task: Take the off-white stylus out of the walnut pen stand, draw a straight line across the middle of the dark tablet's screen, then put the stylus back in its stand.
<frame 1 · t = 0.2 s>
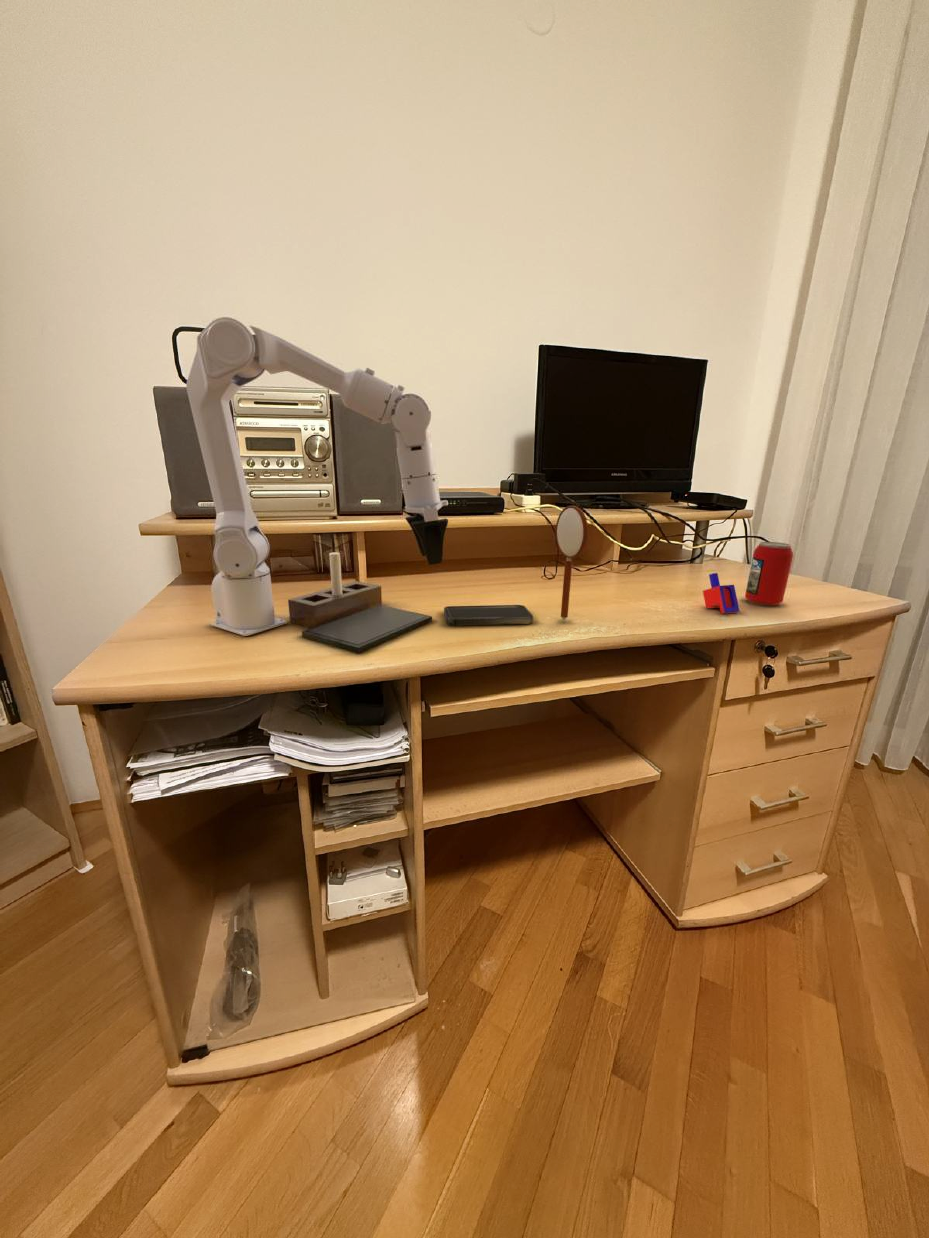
hand: (431, 559, 83), 11 cm above the table, tool pointing down, fingers open, 7 cm apart
stylus: (336, 584, 87), in the pen stand
pen stand: (338, 613, 88), on the table
toy building block: (718, 610, 95), on the table
phone: (487, 618, 87), on the table
magnifying glass: (563, 623, 86), on the table
beverage can: (762, 603, 100), on the table
tablet: (370, 629, 81), on the table
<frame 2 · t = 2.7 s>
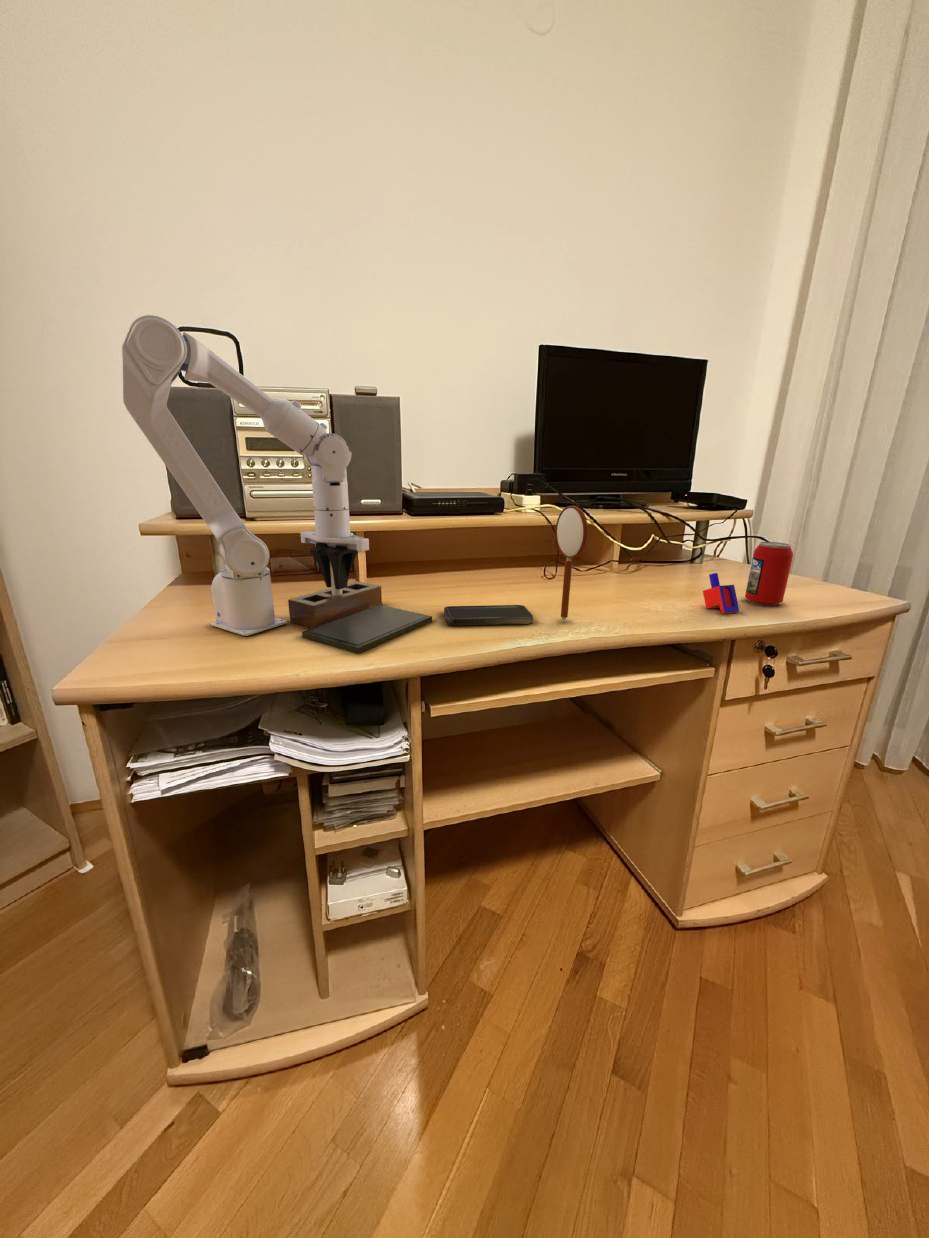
hand: (336, 587, 87), 5 cm above the table, tool pointing down, fingers closed on stylus, 2 cm apart
stylus: (336, 584, 87), in the pen stand, touching gripper
everything else where it was.
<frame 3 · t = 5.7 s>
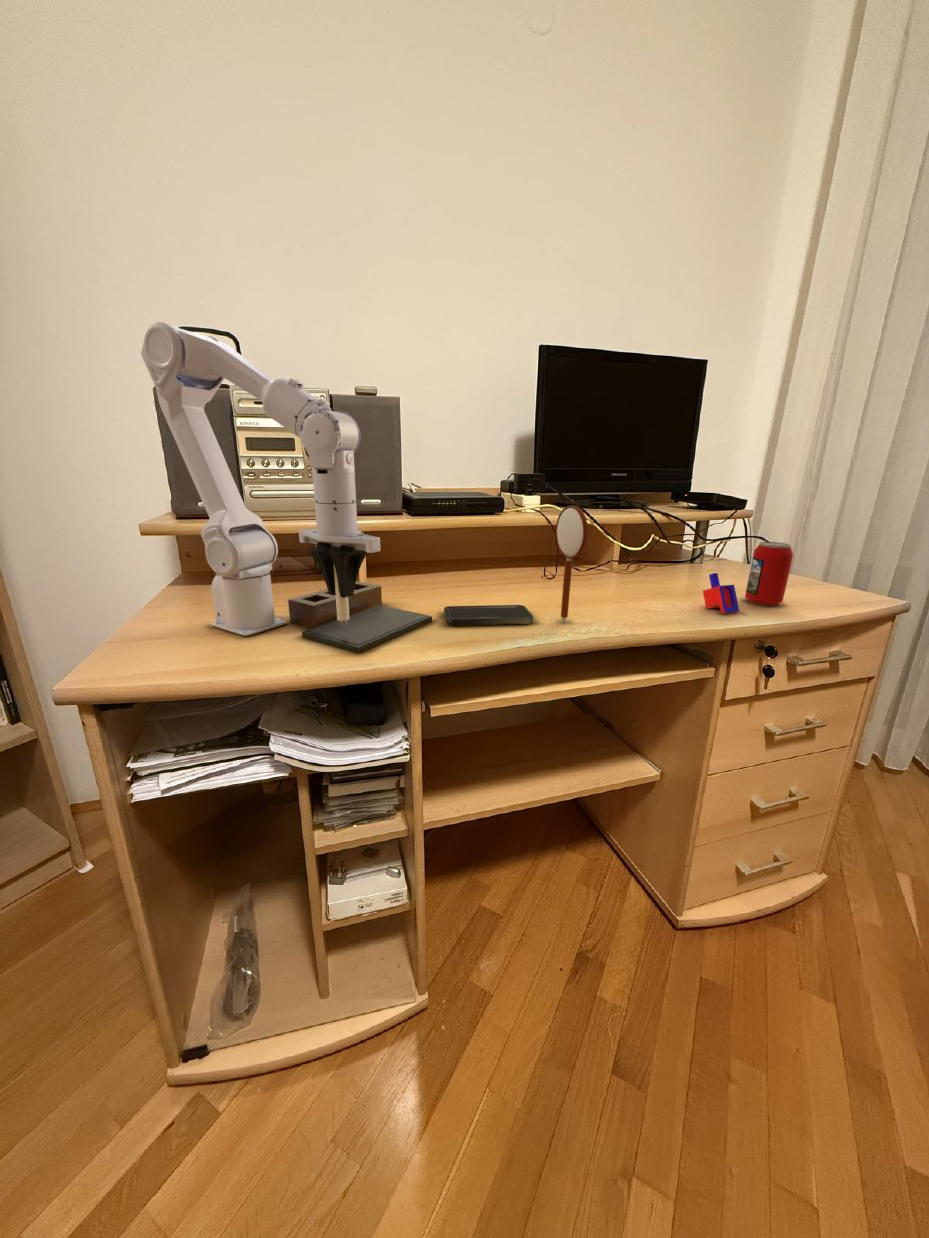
hand: (341, 594, 74), 7 cm above the table, tool pointing down, fingers closed on stylus, 2 cm apart
stylus: (341, 591, 73), point 8 cm above the table, touching gripper
everything else where it was.
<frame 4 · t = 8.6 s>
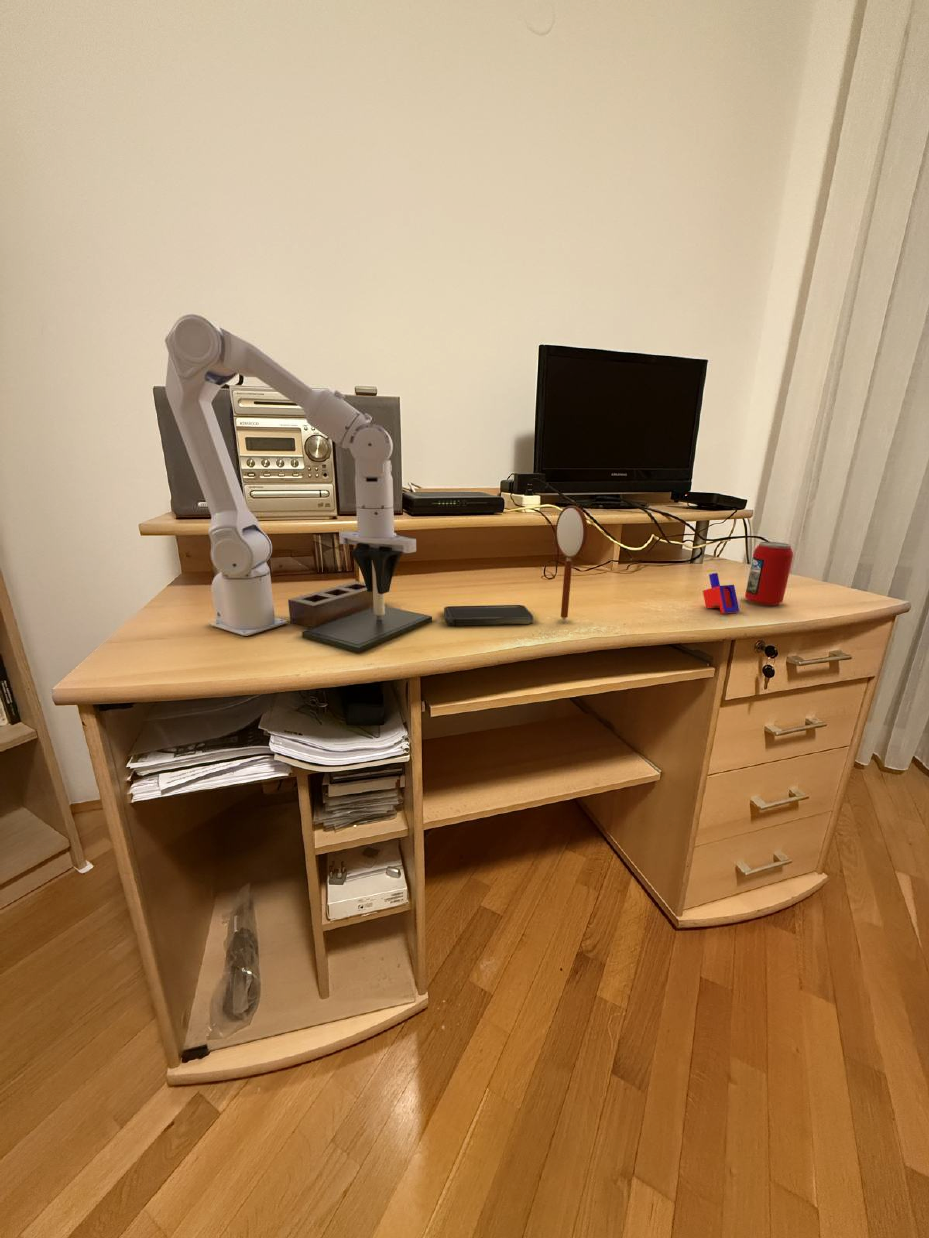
hand: (378, 591, 80), 6 cm above the table, tool pointing down, fingers closed on stylus, 2 cm apart
stylus: (378, 587, 80), point 7 cm above the table, touching gripper, tablet
everything else where it was.
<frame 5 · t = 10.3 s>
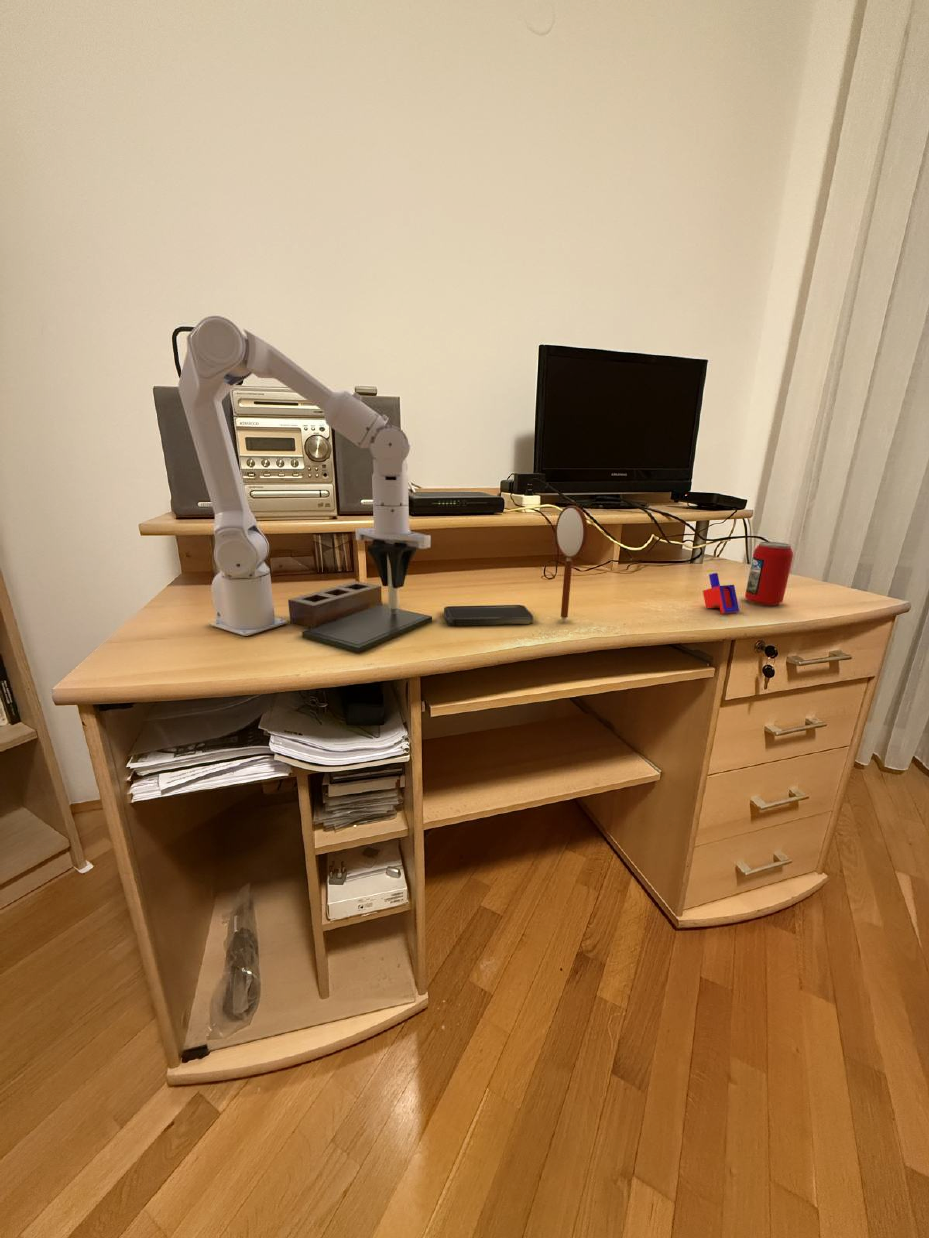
hand: (393, 586, 84), 6 cm above the table, tool pointing down, fingers closed on stylus, 2 cm apart
stylus: (393, 582, 83), point 7 cm above the table, touching gripper
everything else where it was.
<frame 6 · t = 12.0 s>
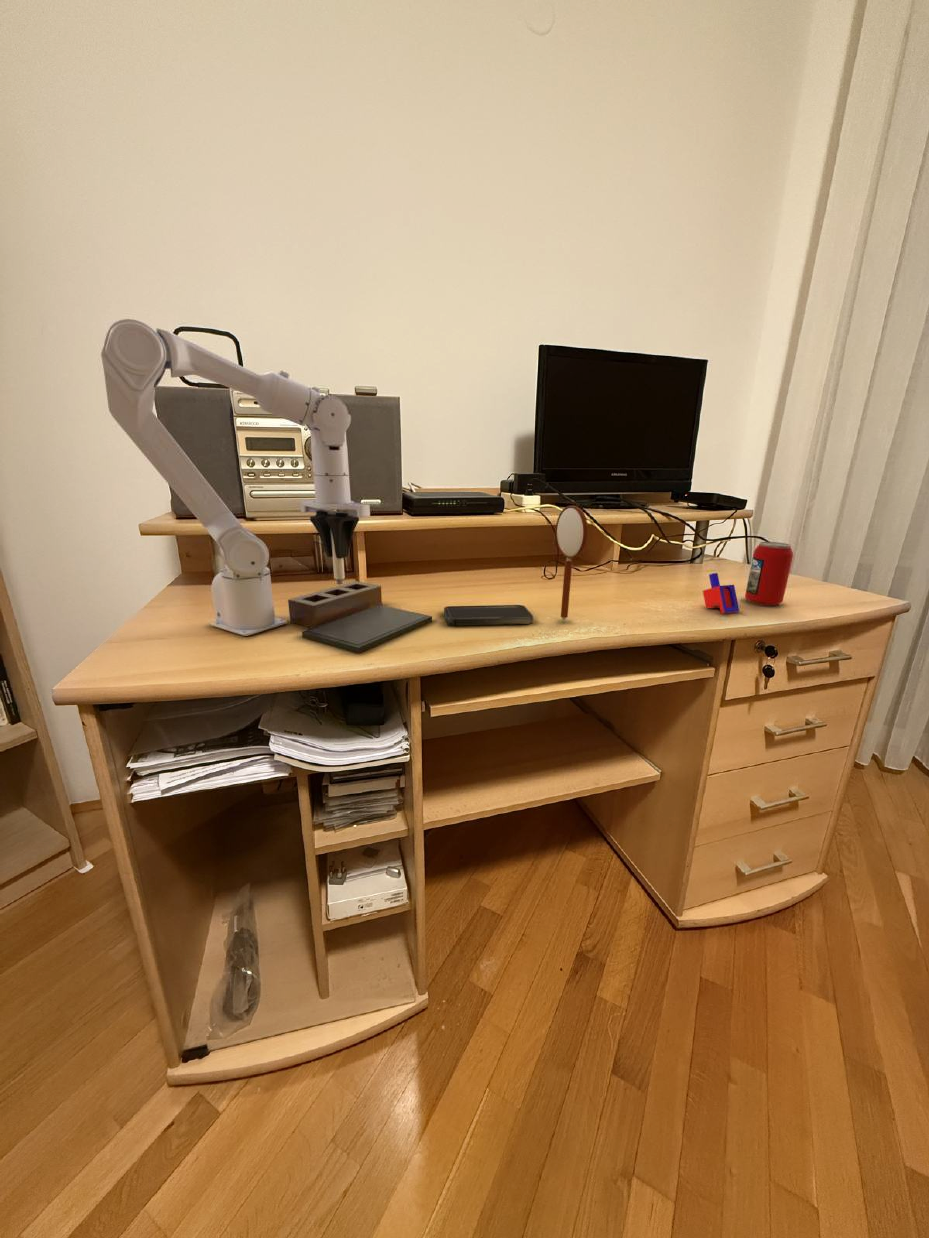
hand: (337, 556, 85), 10 cm above the table, tool pointing down, fingers closed on stylus
stylus: (337, 553, 85), point 11 cm above the table, touching gripper
everything else where it was.
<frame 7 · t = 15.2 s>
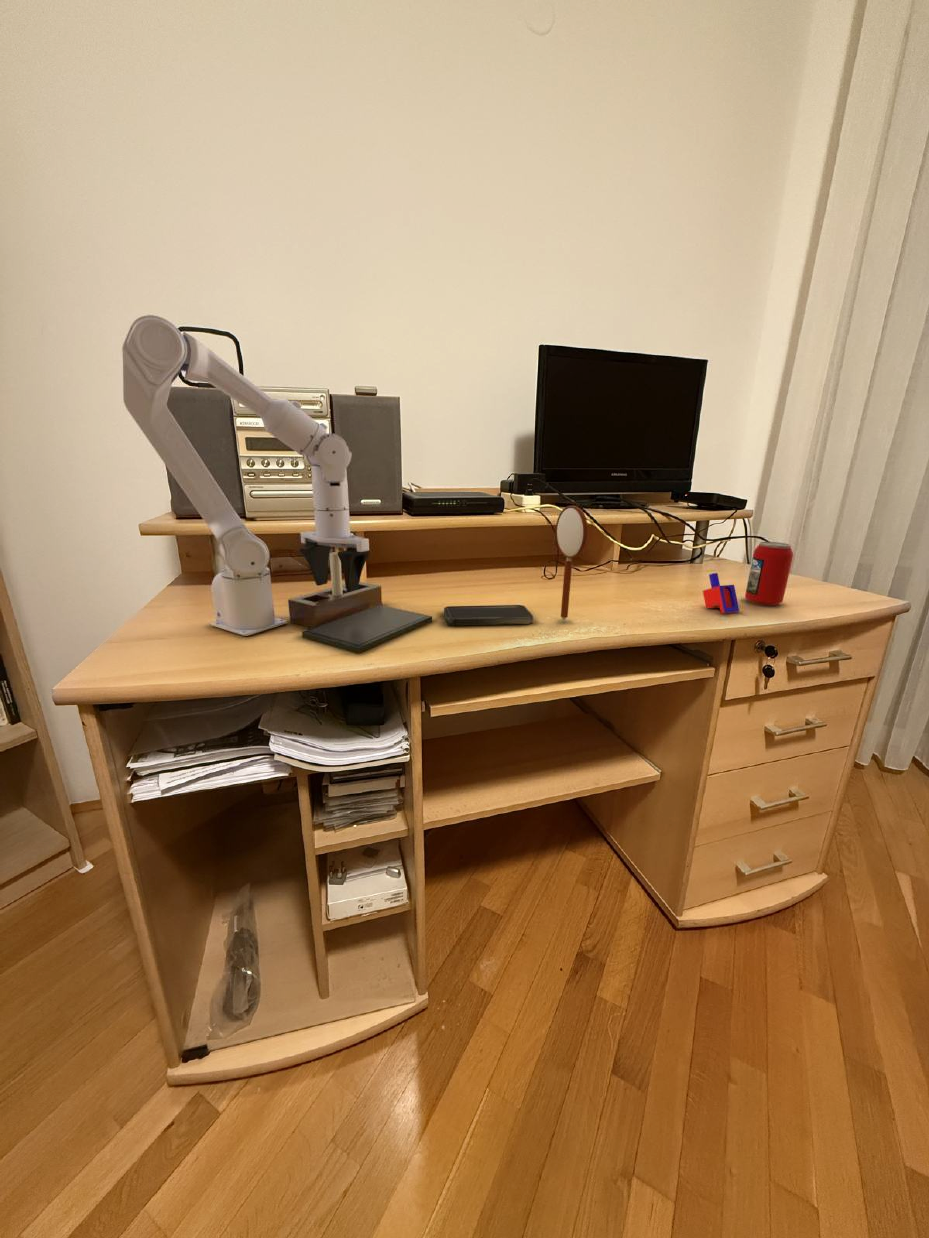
hand: (336, 587, 87), 5 cm above the table, tool pointing down, fingers open, 7 cm apart
stylus: (336, 584, 87), in the pen stand
everything else where it was.
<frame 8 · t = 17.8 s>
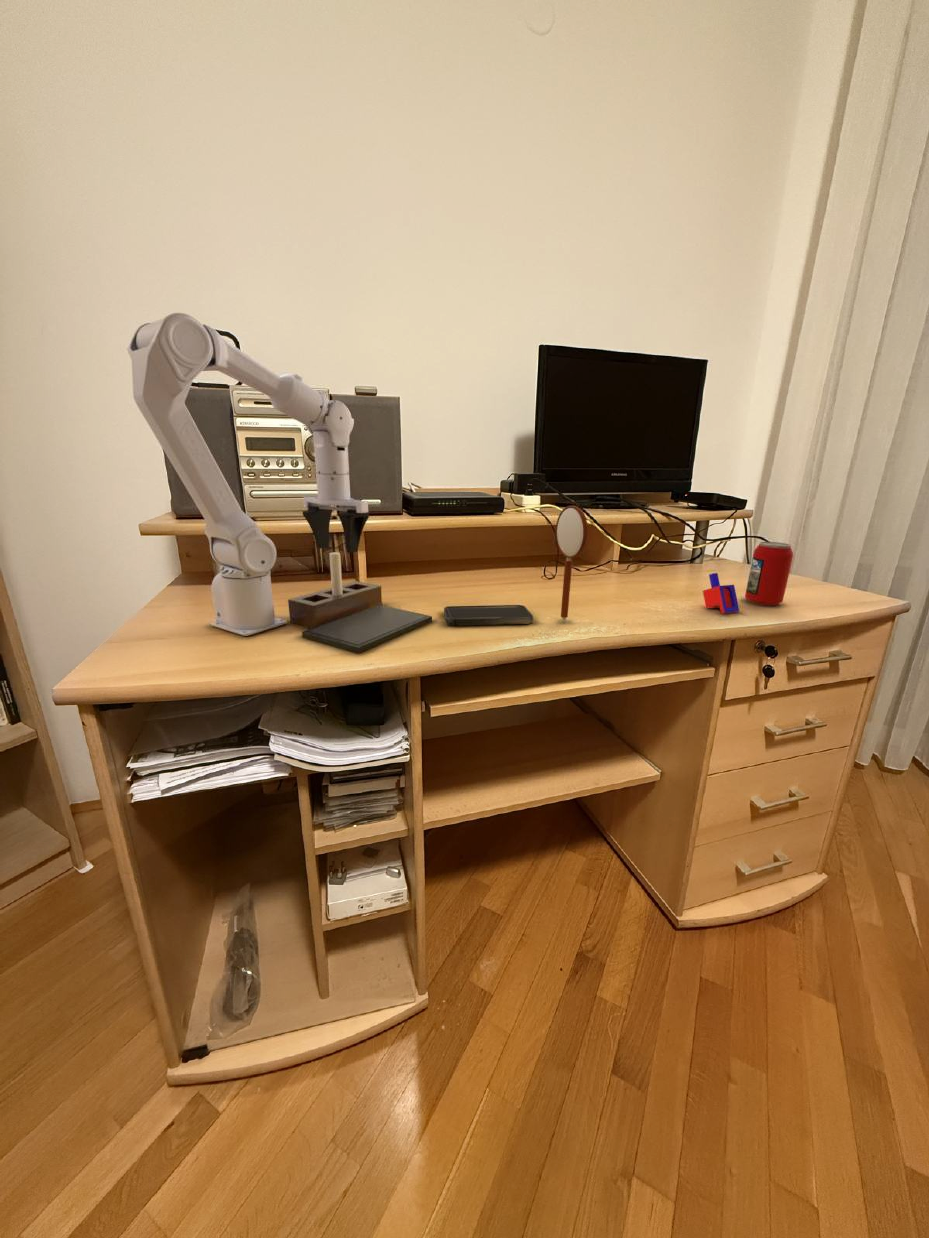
hand: (337, 549, 91), 10 cm above the table, tool pointing down, fingers open, 7 cm apart
nothing on the table moved.
at the end: stylus 0.0 cm off-centre in the pen stand, point 5.5 cm above the pen stand's base; stylus tilted 0°; the gripper is holding nothing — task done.
